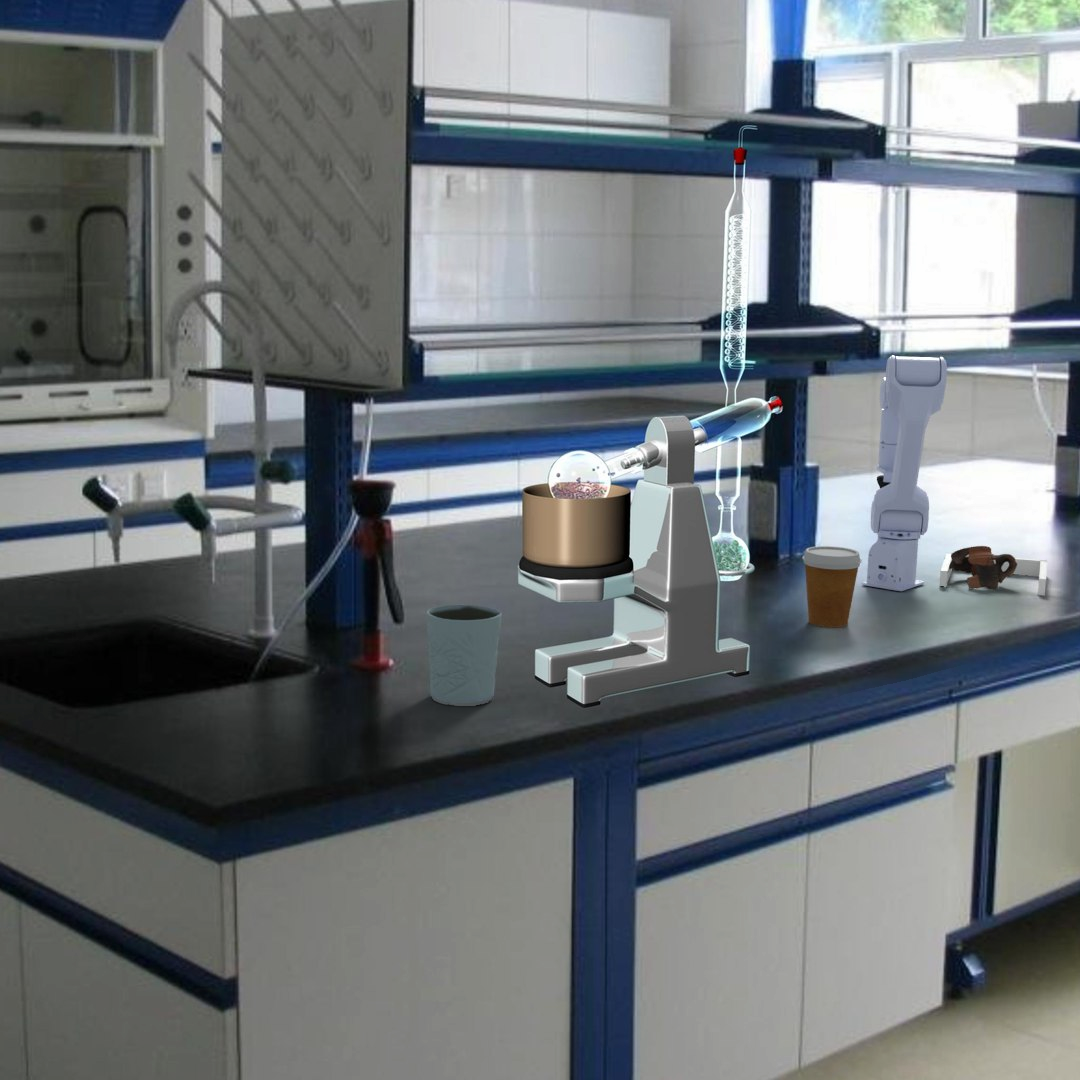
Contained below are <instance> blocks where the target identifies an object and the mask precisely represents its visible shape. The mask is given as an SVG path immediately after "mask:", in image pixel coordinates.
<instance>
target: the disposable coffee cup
mask: <svg viewBox="0 0 1080 1080" xmlns="http://www.w3.org/2000/svg"><path fill="white" fill-rule="evenodd" d="M802 561H803V564H804V569H805V586H806V598H807V599H806V600H807V611H808V613H807V614H808V615H807V616H808V623H809V624H810V625H812V626H816V625H817V626H816V627H820V626H822V628H833V627H835V628H842V626H843V627H847V625H848V623H849V619H850V618H849V617H850V613H851V608H852V603H853V597H854V591H855V585H856V583H857V582H856V581H857V577H858V575H857V574H858V570H859V567H860V566H861V563H862V562H863V561H862V559H861V558H860V552H859V551H858V550H856V549H852V548H848V547H843V546H842V547H840V546H829V545H825V546H821V545H819V546H818V545H817V546H810V547H807V548H805V552H804V555H802Z"/></svg>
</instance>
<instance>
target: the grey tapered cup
mask: <svg viewBox="0 0 1080 1080" xmlns="http://www.w3.org/2000/svg"><path fill="white" fill-rule="evenodd" d="M502 614H503V613H502V611H500V610H499V609H496V608H493V607H490V606H489V607H488V606H484V605H477V604H449V605H448V604H446V605H439V606H435V607H431V608H429V609H428V610H427V611H426V626H427V634H428V636H427V639H428V643H429V644H428V659H429V660H428V662H429V663H428V666H429V683H430V684H429V688H430V691H429V692H430V697H431V696H432V697H433V698H434V699H437V700H440V701H444V702H449V703H474V702H481V701H486V700H489V699H491V698H492V697H493V696H495V685H496V677H495V676H496V670H497V664H498V663H497V661H498V654H499V653H498V648H499V636H500V631H501V625H502V616H503V615H502ZM493 698H494V697H493Z"/></svg>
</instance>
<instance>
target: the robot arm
mask: <svg viewBox="0 0 1080 1080" xmlns="http://www.w3.org/2000/svg"><path fill="white" fill-rule="evenodd" d="M947 365H948V364H947V360H946V359H945V358H944V357H943V356H940V357H920V356H895V355H893V354H892V355H890V357H888V358H887V361H886V369H885V377H882V380H881V384H880V388H879V406H880V409H881V417H880V418H881V419H880V420H881V421H880V432H879V447H878V449H879V450H878V464H877V465H876V470H878V472H880V473H881V475H878V476H876V482H877V484H878V486H879V489H877V490H876V492H875V494H874V497H873V501H872V503H871V508H870V509H871V510H870V529H871V531H872V532H873V534H876V535H877V540H876V542H875V543H874V544H872V546H870V549H869V550H868V557H867V570H866V571H867V572H866V573H867V574H866V581H863V582H861V585H862V586H866V587H867V586H868V587H874V588H879V589H885V590H891V591H896V592H903V591H906V590H909V589H912V588H915V587H919V586H922V585H924V584H925V581H924V580H921V579H920V580H919V579H917V565H918V551H919V540H921V536H924V535H925V534H926V533H927V532H928V528H929V519H930V518H929V517H930V516H929V515H930V501H929V500H930V499H929V496H928V494H927V492H926V491H925V490H923V489H922V488H920V487H919V486H918V479H919V472H920V466H921V459H922V456H923V455H922V454H923V449H924V448H923V447H924V442H925V441H924V440H925V434H926V430H927V427H928V424H929V421H930V418H931V416H932V415H934V414H936V413H938V412H940V411H941V410H942V405H943V403H944V398H945V391H946V386H947V377H948V367H947Z"/></svg>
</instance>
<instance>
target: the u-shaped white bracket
mask: <svg viewBox="0 0 1080 1080" xmlns="http://www.w3.org/2000/svg"><path fill="white" fill-rule="evenodd" d="M952 553H953V552H946V555H945V558H944V560H943V562H942V565H941V569H940V574H939V575H940V576H939V586H946V587H947V586H948V583H949V581H950V577H951V575H952V572H953V570H952V569H949V565H950V563H951V561H952V558H951V554H952ZM966 557H969V555H967V556H966ZM1014 558H1015V561H1016V563H1017V567H1016V569H1015V571H1014V573H1013V574H1019V575H1018V576H1025V575H1028V576H1027V577H1038V588H1037V589H1038V590H1037V596H1046V586H1047V585H1046V584H1047V571H1048V570H1047V569H1048V560H1047V559H1034V558H1024V557H1023V558H1022V557H1014ZM993 561H994V563H995V564H996V561H995V560H993ZM1008 567H1009V563H1008V562H1005V563H1004V564H1003V566H1002V568H1001V569H1002V571H1005V570H1006V569H1007V568H1008ZM949 576H950V577H949Z"/></svg>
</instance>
